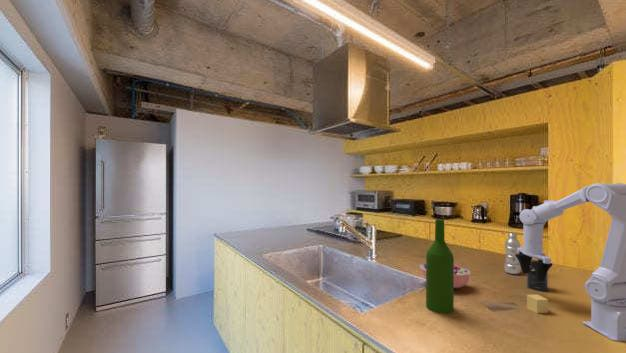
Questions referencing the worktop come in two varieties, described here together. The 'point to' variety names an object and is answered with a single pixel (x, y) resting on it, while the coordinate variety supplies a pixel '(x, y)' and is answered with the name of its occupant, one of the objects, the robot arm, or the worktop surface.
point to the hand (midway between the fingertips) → (532, 276)
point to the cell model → (459, 275)
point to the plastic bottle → (512, 254)
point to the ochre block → (537, 303)
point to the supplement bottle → (533, 282)
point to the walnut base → (500, 306)
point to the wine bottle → (439, 274)
